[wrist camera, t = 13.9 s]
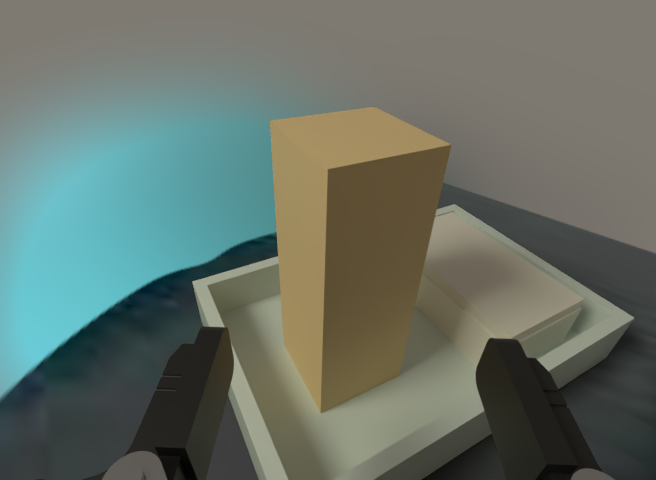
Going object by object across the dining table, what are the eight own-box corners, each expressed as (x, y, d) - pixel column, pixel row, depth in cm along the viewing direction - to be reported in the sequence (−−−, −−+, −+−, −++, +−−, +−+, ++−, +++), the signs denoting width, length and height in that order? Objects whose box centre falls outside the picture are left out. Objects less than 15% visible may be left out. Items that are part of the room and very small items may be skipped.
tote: (445, 239, 38) (454, 204, 35) (606, 358, 26) (634, 317, 24) (201, 322, 28) (192, 281, 26) (289, 566, 17) (286, 533, 14)
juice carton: (353, 316, 28) (374, 106, 19) (399, 375, 24) (451, 144, 15) (283, 343, 25) (269, 120, 17) (320, 413, 21) (328, 169, 13)
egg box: (442, 248, 35) (452, 211, 32) (562, 341, 26) (587, 299, 24) (379, 270, 32) (385, 231, 30) (491, 382, 23) (511, 339, 21)
